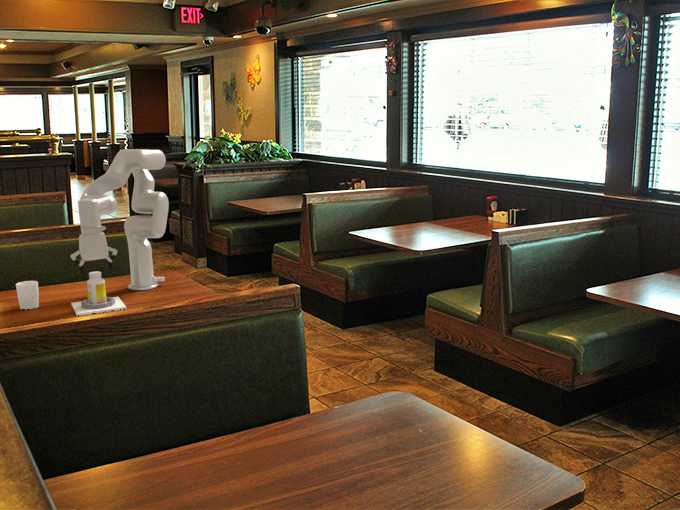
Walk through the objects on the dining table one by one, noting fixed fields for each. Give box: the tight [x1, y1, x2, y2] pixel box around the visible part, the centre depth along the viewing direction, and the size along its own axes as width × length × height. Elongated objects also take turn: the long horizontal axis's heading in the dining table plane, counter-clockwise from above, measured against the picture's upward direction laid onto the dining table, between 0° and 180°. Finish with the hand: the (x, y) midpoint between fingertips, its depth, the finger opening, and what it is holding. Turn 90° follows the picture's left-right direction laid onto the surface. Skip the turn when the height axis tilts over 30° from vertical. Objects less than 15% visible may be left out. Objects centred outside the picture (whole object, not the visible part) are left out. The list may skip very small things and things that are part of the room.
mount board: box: [71, 296, 127, 317], centre depth 261 cm, size 18×18×2 cm
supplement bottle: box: [86, 271, 107, 305], centre depth 260 cm, size 7×7×13 cm
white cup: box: [15, 280, 40, 311], centre depth 261 cm, size 8×8×10 cm
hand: (96, 273), depth 259 cm, fingers open, 9 cm apart
